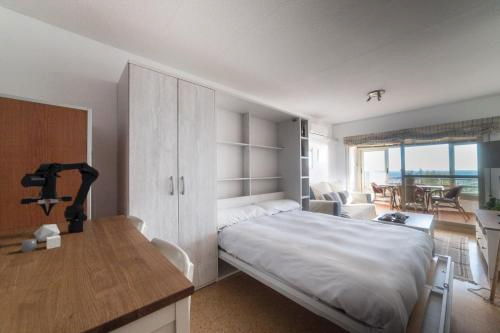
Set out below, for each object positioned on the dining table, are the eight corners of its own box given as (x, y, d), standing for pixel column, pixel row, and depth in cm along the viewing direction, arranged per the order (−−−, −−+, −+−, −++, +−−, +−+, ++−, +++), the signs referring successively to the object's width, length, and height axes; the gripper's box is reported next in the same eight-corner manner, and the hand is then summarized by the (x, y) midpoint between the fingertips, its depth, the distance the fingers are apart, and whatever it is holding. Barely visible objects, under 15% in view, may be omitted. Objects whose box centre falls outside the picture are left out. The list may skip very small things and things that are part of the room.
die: (35, 241, 105) (26, 229, 99) (55, 229, 112) (48, 217, 107) (46, 248, 103) (37, 236, 97) (65, 235, 110) (58, 224, 104)
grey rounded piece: (37, 247, 94) (37, 238, 94) (34, 250, 91) (35, 240, 91) (23, 250, 91) (23, 240, 92) (20, 253, 88) (20, 242, 88)
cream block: (59, 244, 99) (59, 235, 99) (60, 246, 96) (60, 237, 96) (46, 246, 96) (46, 237, 96) (47, 249, 93) (47, 239, 93)
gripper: (73, 185, 118) (72, 211, 117) (26, 186, 106) (25, 215, 106) (72, 186, 109) (71, 214, 108) (20, 187, 97) (19, 219, 97)
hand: (47, 216), depth 105 cm, fingers closed
